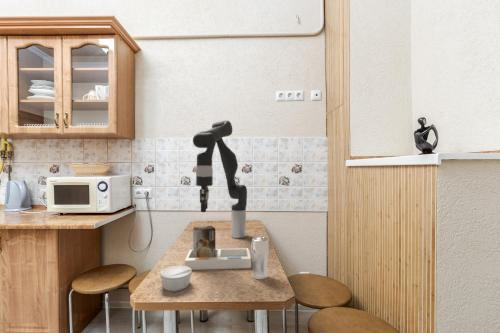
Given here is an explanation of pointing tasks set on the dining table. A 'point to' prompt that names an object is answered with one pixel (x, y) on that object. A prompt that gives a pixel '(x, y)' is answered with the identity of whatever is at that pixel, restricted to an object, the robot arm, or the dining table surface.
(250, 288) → the dining table surface
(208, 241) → the coffee box
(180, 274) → the ramekin
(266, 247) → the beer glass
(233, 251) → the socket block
